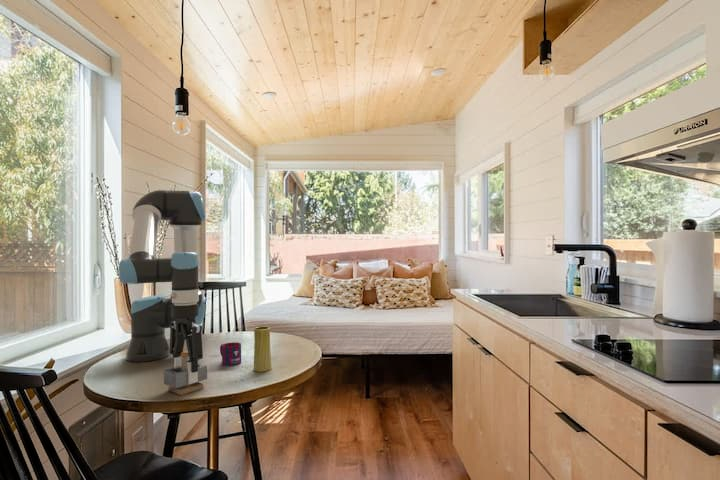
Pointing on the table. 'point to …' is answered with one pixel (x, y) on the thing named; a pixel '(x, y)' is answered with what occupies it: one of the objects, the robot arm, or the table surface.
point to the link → (182, 376)
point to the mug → (231, 353)
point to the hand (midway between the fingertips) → (185, 380)
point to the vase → (262, 349)
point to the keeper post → (189, 387)
